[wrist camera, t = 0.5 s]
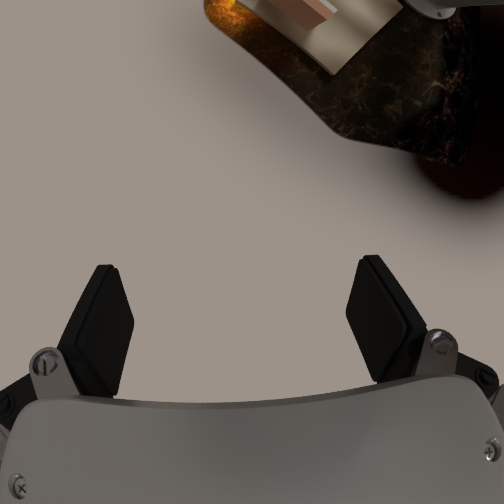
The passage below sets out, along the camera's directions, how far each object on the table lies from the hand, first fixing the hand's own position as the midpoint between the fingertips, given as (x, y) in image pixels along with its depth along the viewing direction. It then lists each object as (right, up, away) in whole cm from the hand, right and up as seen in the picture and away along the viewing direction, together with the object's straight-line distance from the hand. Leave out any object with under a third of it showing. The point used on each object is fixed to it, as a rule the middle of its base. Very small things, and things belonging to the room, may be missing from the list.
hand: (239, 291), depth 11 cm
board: (+9, +32, +13) cm, 36 cm away
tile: (+5, +29, +13) cm, 32 cm away
